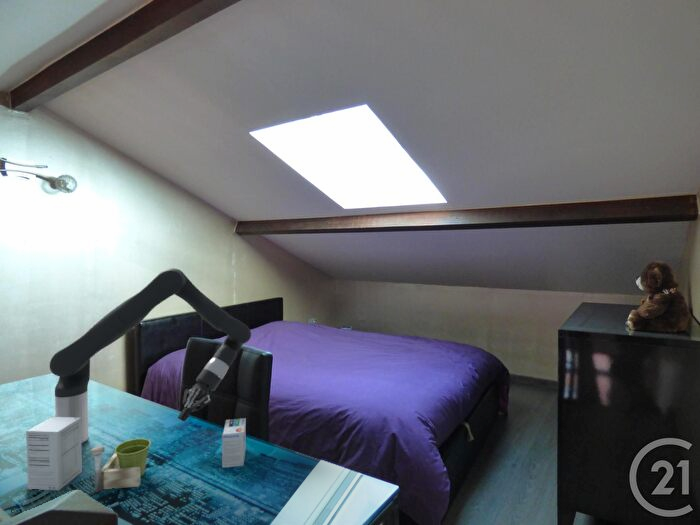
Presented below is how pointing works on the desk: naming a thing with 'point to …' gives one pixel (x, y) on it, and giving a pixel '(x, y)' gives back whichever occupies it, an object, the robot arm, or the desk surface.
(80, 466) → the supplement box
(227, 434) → the light bulb box
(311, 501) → the desk surface
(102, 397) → the desk surface
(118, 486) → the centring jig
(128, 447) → the plant pot
